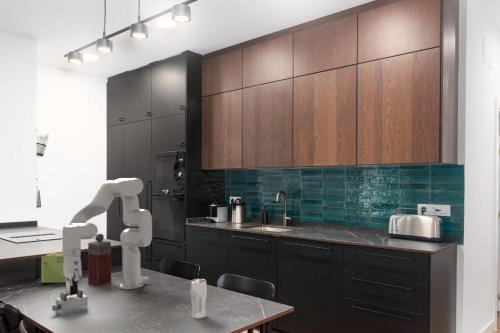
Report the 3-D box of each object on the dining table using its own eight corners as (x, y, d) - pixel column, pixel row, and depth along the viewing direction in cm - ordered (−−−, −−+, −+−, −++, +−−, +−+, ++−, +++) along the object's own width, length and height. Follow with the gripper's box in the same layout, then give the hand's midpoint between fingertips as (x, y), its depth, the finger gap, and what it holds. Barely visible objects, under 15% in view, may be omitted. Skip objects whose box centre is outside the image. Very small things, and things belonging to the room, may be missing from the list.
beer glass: (191, 313, 168) (190, 278, 168) (207, 313, 168) (206, 278, 169) (190, 319, 161) (189, 283, 161) (206, 318, 161) (206, 282, 162)
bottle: (74, 291, 177) (74, 276, 178) (78, 293, 174) (78, 277, 175) (64, 294, 174) (64, 278, 175) (68, 296, 171) (68, 279, 171)
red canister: (98, 279, 229) (98, 232, 230) (111, 281, 223) (111, 233, 224) (85, 283, 221) (85, 234, 222) (98, 285, 215) (97, 235, 216)
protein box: (67, 282, 223) (67, 255, 224) (40, 282, 224) (40, 255, 224) (75, 277, 234) (75, 252, 234) (50, 278, 234) (50, 252, 234)
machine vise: (80, 305, 181) (80, 287, 181) (87, 309, 175) (87, 290, 175) (49, 313, 171) (49, 293, 172) (56, 317, 166) (56, 297, 166)
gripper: (87, 253, 172) (87, 295, 171) (73, 249, 184) (73, 288, 183) (70, 256, 166) (70, 299, 166) (56, 251, 178) (56, 291, 178)
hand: (71, 292), depth 174 cm, fingers closed on bottle, 4 cm apart
